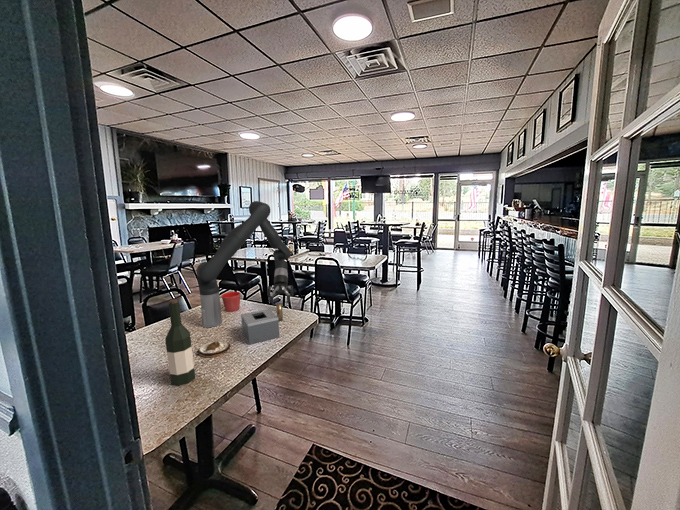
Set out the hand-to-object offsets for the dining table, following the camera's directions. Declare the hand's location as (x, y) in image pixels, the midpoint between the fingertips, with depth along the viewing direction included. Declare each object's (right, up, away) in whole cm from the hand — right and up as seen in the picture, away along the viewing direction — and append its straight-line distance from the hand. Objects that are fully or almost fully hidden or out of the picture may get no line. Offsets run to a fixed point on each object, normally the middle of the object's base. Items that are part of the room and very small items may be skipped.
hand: (280, 303), depth 164 cm
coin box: (-5, -12, -20) cm, 24 cm away
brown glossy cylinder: (+1, -9, -2) cm, 9 cm away
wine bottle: (-24, -19, -55) cm, 63 cm away
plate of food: (-21, -16, -34) cm, 43 cm away
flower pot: (-32, -7, +16) cm, 36 cm away
